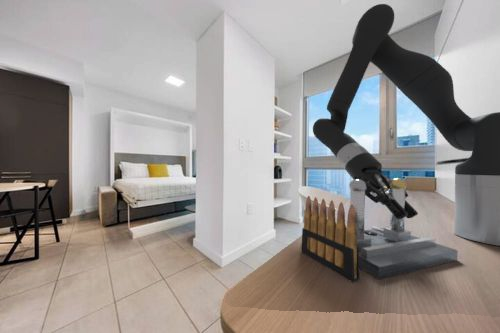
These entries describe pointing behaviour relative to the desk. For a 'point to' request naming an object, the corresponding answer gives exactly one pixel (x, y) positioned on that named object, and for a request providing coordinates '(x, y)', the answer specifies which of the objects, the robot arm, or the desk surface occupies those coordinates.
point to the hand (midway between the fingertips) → (408, 216)
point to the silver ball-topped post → (359, 211)
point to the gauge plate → (401, 255)
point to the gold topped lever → (396, 225)
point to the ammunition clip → (331, 238)
